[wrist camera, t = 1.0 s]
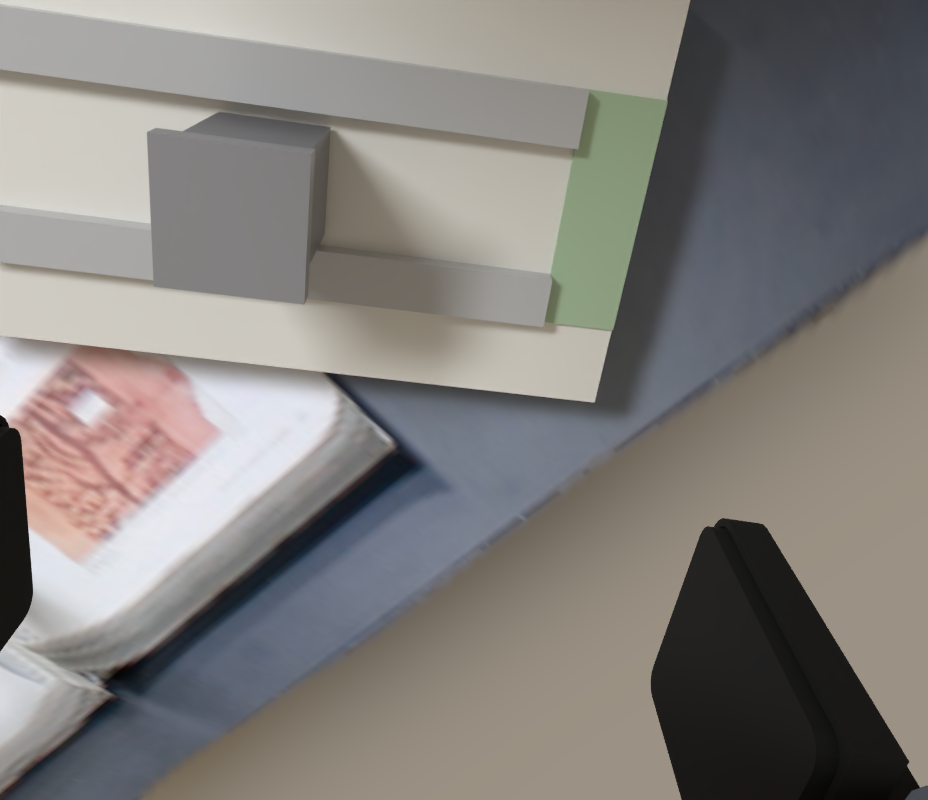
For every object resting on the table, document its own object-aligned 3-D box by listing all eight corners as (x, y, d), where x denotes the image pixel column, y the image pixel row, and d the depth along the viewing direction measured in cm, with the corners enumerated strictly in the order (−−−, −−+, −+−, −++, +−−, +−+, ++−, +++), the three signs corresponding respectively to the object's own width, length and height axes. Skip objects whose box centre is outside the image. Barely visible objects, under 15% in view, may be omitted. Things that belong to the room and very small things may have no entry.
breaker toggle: (210, 101, 28) (146, 132, 22) (339, 119, 29) (311, 154, 23) (211, 227, 30) (153, 286, 24) (331, 242, 31) (304, 304, 25)
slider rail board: (-108, -129, 28) (-185, -146, 24) (670, -7, 30) (698, -7, 27) (-38, 301, 35) (-90, 334, 32) (583, 373, 37) (597, 411, 34)
